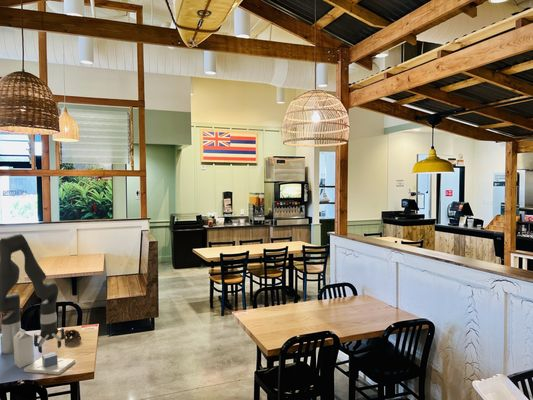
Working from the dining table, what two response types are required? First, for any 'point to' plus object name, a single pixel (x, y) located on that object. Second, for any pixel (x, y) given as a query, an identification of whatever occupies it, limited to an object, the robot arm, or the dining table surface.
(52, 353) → the blue-grey block
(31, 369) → the shaft plate
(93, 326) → the dining table surface
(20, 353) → the milk carton
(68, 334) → the dark brown rounded lump
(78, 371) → the dining table surface
